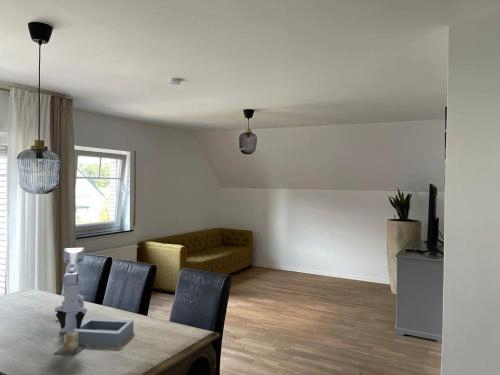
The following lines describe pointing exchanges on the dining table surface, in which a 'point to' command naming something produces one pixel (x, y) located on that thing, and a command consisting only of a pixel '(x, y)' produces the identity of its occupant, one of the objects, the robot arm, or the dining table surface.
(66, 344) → the birch post
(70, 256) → the robot arm
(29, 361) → the dining table surface
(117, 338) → the box
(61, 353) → the mat
